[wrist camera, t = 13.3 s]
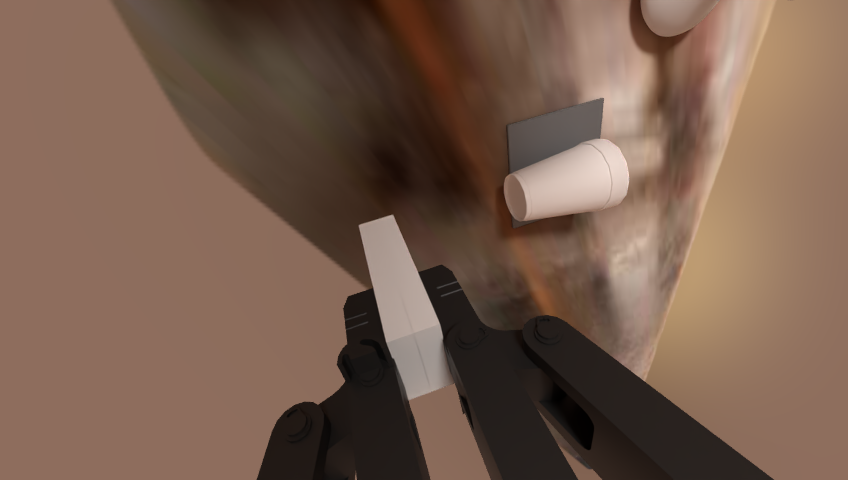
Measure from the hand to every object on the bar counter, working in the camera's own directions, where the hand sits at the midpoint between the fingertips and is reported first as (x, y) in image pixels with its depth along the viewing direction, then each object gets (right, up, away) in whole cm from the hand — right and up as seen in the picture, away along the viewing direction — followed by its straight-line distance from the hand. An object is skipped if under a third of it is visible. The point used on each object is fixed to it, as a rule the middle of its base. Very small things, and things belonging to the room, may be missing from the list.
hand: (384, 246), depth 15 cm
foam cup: (+13, +6, +31) cm, 34 cm away
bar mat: (+21, +11, +36) cm, 43 cm away
